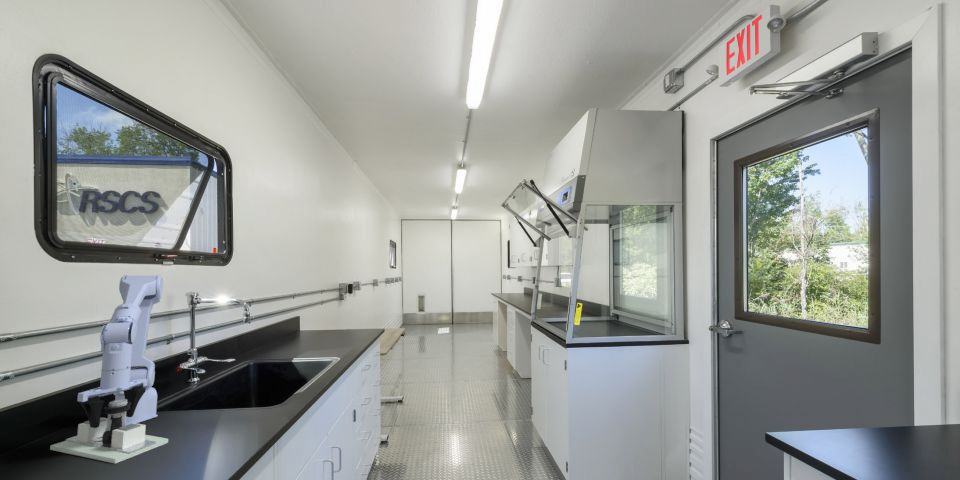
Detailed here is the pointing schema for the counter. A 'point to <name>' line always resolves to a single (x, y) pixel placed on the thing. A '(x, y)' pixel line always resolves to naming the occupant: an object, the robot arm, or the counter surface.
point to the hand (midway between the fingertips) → (112, 421)
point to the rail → (108, 445)
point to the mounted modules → (113, 433)
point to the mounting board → (104, 450)
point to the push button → (114, 418)
